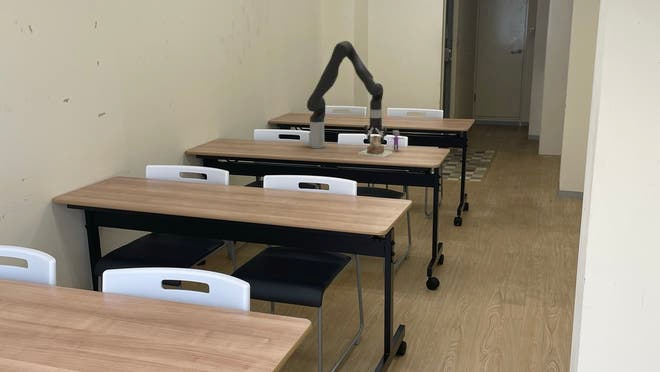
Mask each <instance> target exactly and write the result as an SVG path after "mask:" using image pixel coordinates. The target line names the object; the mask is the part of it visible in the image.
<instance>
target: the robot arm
mask: <svg viewBox="0 0 660 372" xmlns="http://www.w3.org/2000/svg"><path fill="white" fill-rule="evenodd" d="M345 58H348V60H349V61H350V62H351V64H352V66H353V69H354V71H355V74H356V75H357V77H358V78H359V80H360V81H361V82H362V83H363V85H364V86H365V88H366V91H367V92H368V94H369V95H371V96H372V97H371V100H370V102H369V124H365V125H364V133H363V134H364V135H366V136H367V137H366V138H367V142H369V143H370V137H372V136H371V134H375V133H376V134H379V136H380V137H381V144H383V143H384V141H385V137H386V136H388V128H387V126H386V125H385V126H383V125H382V124H383V122H382V121H383V109H382V100H383V96H384V88H383V85H382V84H381V83H377V82H375V80H374V76H373V75H372V74H371V72H370V71H369V69H368V68H367V66H366V65H365V64H364V63H363V62H362V59H361V58H360V56H359V54H358V53H357V50H356V49H355V47H354V46H353V44H352V43H351V42H350V41H348V40H343V41H341V42H338V43H337V44H336V45H335V46H334V48H333V51H332V54H331V55H330V59H329V60H328V63H327V64H326V66H325V69H324V70H323V72H322V74H321V75H320V78H319V80H318V83H317V84H316V86H315V88H314V90H313V91H312V93H311V95H310V96H309V98H308V99H307V103H306V107H307V110H308V111H309V112H313V113H312V115H311V116H310V117H309V132H308V145H309V148H312V149H323V148H325V117H326V101H325V98H324V96H325V95H326V93H328V91H330V89H332V87H333V86H334V85H335V83H336V81H337V78H338V76H339V69H340V66H341V64H342V62H343V60H344V59H345ZM369 129H370V130H369Z"/></svg>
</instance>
